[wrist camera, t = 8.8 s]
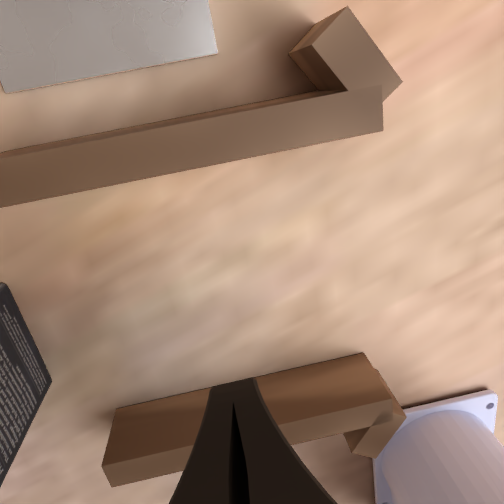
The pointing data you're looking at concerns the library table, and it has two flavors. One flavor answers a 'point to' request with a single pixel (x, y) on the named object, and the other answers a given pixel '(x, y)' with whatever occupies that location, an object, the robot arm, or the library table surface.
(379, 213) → the library table surface
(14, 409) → the small box
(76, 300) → the library table surface
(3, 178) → the chute
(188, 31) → the bookend
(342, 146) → the library table surface
